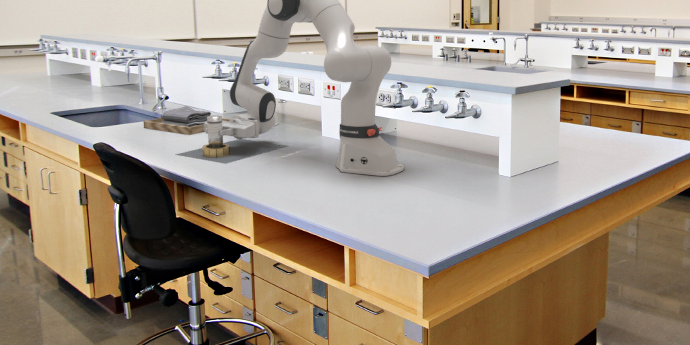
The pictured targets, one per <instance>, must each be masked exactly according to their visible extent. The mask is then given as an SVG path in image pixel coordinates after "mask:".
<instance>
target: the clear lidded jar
mask: <svg viewBox="0 0 690 345" xmlns="http://www.w3.org/2000/svg"><path fill="white" fill-rule="evenodd" d="M222 118H223V117H222V115H219V114H218V115H217V114H216V115H214V114H213V115H210V116H207V125H208V134H207V139H208V140H207V141H208V143H207V144H209V148H223V143H224V136H220V135H219V130H222Z"/></svg>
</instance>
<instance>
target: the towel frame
mask: <svg viewBox="0 0 690 345" xmlns="http://www.w3.org/2000/svg"><path fill="white" fill-rule="evenodd" d="M230 119H231V118H225V117H222V121H228V122H229V121H230ZM163 120H164V119H162V118H161V117H160V118H154V119H149V120H144V121H143V120H142V121H143V122H142V123H143V128H144V129H147V128H149V129H148V130H154V131H162V132H163V131H164V132H168V133H175V134H182V135H186V136H187V135H188V136H191V135H196V134H201V133H205V132H204V124H203V125H198V126H193V127H186V126H179V125H172V124H165V123H162V121H163Z"/></svg>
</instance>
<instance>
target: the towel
mask: <svg viewBox="0 0 690 345" xmlns="http://www.w3.org/2000/svg"><path fill="white" fill-rule="evenodd" d="M207 116H212V113H211V112H210V111H206V110H195V109H194V108H192V107H189V106H188V105H185V106H183V107H182V106H181V107H178V108H173V109H169V110H165V111H164V112H162V114H161V115H160V118H162V119H164V120H163V121H162V123H165V124H172V125H179V126H186V127H193V126H198V125H203V124H204V123H205V122H207Z"/></svg>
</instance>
